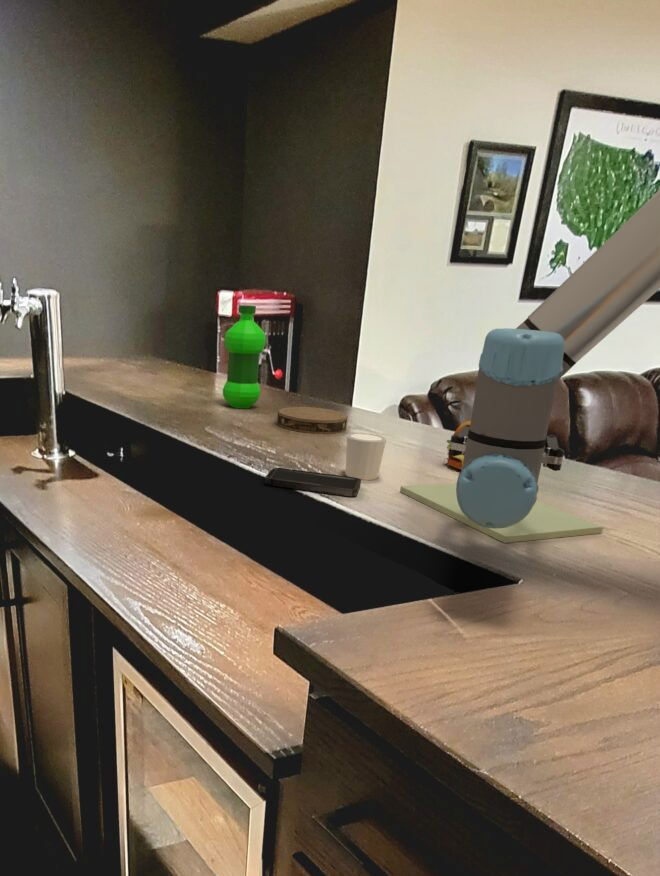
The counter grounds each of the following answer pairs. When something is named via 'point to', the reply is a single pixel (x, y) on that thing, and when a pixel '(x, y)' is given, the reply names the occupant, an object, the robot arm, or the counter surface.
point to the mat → (533, 527)
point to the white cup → (364, 455)
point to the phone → (313, 481)
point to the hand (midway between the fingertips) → (509, 430)
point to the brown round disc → (312, 420)
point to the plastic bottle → (243, 359)
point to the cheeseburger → (458, 460)
